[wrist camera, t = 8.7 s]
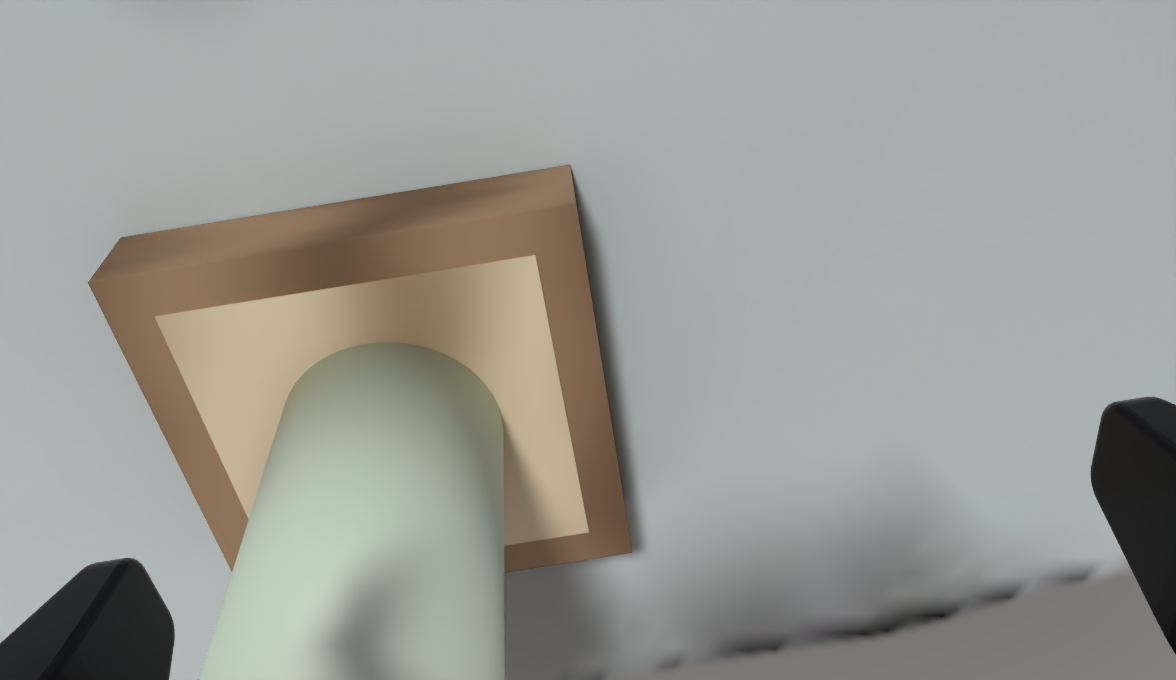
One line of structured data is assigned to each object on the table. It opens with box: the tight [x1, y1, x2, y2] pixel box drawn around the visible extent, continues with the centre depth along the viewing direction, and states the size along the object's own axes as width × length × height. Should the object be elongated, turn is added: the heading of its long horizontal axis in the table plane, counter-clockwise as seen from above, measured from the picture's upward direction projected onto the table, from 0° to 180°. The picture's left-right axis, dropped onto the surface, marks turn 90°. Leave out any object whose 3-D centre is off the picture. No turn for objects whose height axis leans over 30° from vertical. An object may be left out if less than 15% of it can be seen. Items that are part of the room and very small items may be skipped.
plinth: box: [88, 165, 632, 573], centre depth 23 cm, size 10×10×2 cm
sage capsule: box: [199, 342, 505, 680], centre depth 19 cm, size 5×5×8 cm
